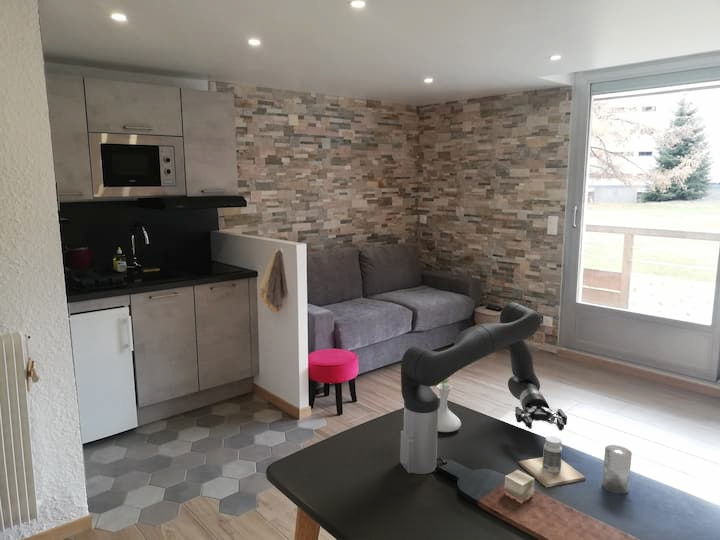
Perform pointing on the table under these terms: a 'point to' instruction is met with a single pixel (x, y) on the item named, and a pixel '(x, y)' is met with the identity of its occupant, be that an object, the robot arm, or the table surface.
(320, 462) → the table surface
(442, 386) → the flower in vase
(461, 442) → the table surface
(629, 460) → the tin can
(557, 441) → the pill bottle
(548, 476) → the oak mat
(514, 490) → the ash block
